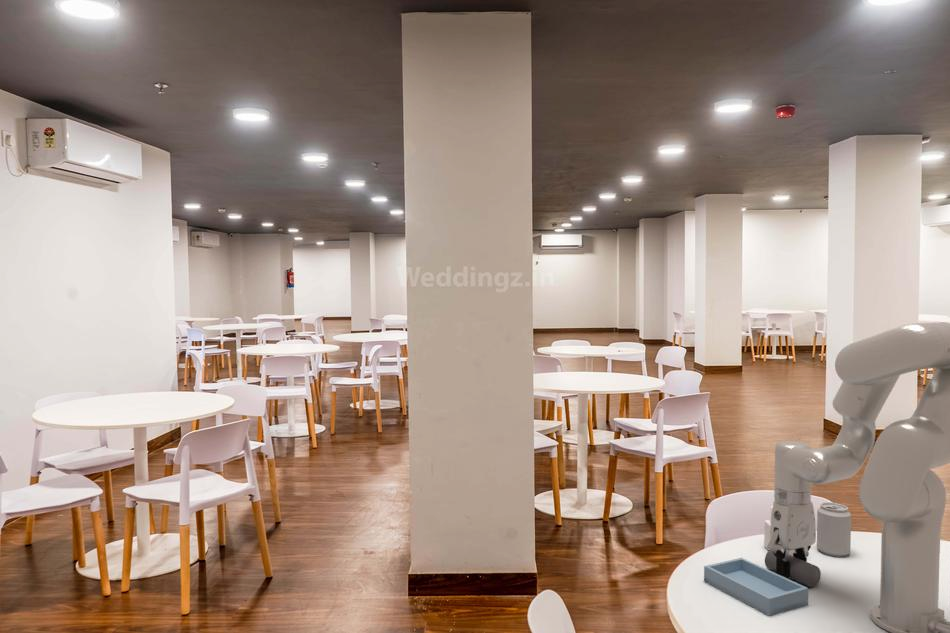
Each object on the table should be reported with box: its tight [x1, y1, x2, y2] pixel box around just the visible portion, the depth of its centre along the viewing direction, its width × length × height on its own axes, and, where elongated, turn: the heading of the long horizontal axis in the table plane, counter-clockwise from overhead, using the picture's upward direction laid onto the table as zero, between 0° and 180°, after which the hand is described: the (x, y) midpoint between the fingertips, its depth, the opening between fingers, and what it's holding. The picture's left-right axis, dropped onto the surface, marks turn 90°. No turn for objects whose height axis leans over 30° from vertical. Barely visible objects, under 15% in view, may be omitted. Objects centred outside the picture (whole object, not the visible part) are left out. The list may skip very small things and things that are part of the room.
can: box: [816, 501, 852, 558], centre depth 164 cm, size 8×8×12 cm
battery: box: [764, 550, 822, 588], centre depth 149 cm, size 12×5×5 cm, turn 25°
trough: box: [703, 557, 809, 617], centre depth 141 cm, size 18×12×4 cm, turn 25°
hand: (791, 573), depth 149 cm, fingers closed on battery, 4 cm apart
